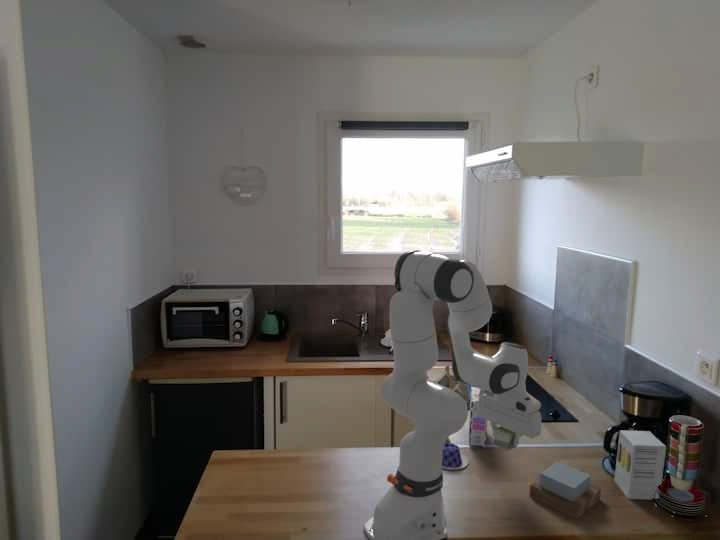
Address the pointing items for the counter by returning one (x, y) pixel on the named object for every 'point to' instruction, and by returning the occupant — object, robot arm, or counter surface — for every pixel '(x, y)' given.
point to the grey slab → (565, 481)
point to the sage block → (504, 438)
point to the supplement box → (639, 464)
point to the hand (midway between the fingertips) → (505, 440)
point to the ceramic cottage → (454, 384)
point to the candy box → (476, 422)
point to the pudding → (453, 457)
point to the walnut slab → (564, 504)
